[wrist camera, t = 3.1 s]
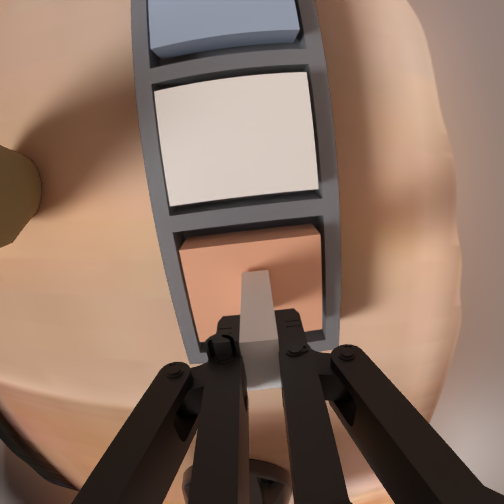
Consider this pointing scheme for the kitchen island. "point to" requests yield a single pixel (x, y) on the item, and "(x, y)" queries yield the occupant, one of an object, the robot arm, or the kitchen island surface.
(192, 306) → the terracotta key
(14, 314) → the kitchen island surface
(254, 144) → the off-white key
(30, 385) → the kitchen island surface
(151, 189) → the grey compartment tray
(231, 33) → the slate key
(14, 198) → the squeeze bottle
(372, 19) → the kitchen island surface
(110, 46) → the kitchen island surface
